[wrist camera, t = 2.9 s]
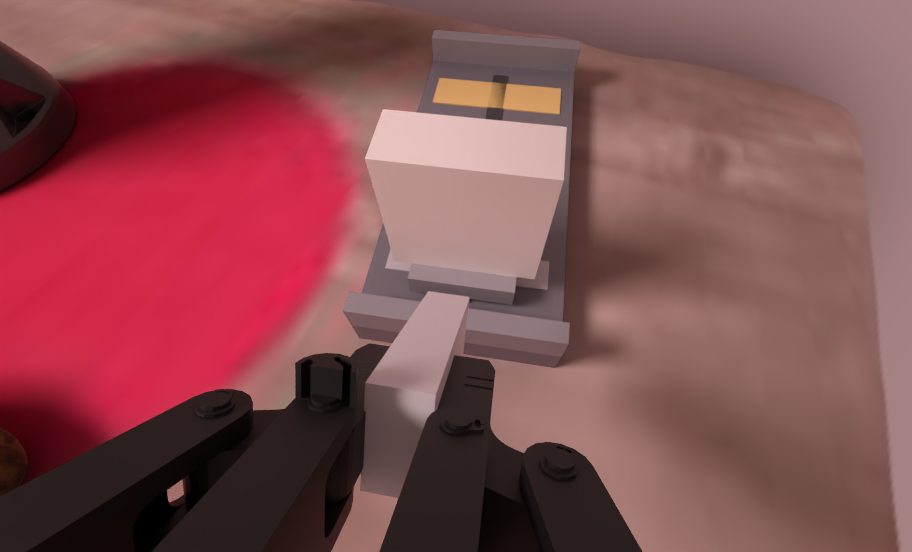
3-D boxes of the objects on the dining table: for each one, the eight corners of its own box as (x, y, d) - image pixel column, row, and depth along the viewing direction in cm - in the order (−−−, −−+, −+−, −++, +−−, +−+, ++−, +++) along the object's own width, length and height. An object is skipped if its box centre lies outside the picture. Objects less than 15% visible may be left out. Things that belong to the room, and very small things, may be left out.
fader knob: (529, 307, 24) (562, 200, 16) (394, 288, 25) (358, 177, 17) (535, 236, 27) (567, 111, 18) (412, 220, 27) (388, 94, 19)
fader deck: (554, 367, 25) (569, 344, 21) (359, 337, 26) (342, 311, 23) (569, 84, 37) (580, 40, 34) (437, 73, 39) (434, 29, 35)
